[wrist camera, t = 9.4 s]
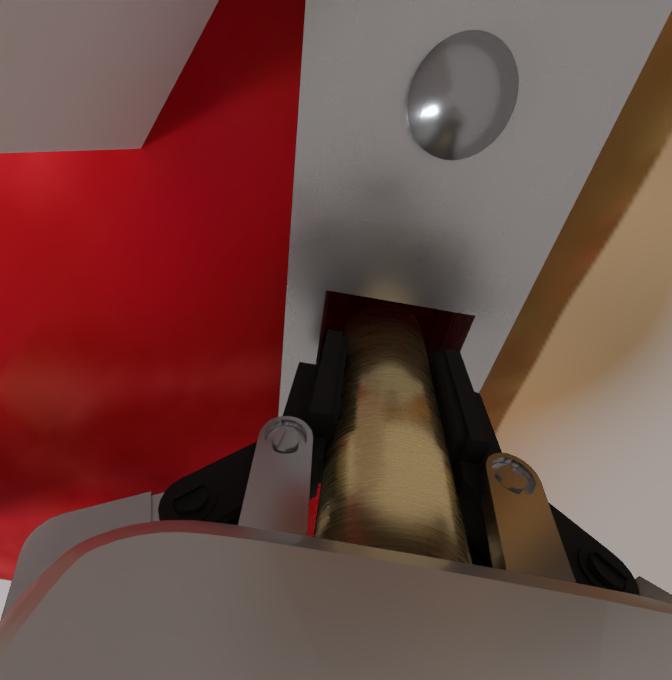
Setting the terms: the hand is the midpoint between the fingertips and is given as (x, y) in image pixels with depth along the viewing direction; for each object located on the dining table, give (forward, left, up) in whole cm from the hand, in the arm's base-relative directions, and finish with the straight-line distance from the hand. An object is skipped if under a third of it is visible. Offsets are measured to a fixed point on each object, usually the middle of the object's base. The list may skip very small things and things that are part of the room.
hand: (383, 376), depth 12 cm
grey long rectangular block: (0, 0, -5) cm, 5 cm away
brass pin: (0, 0, -2) cm, 2 cm away
